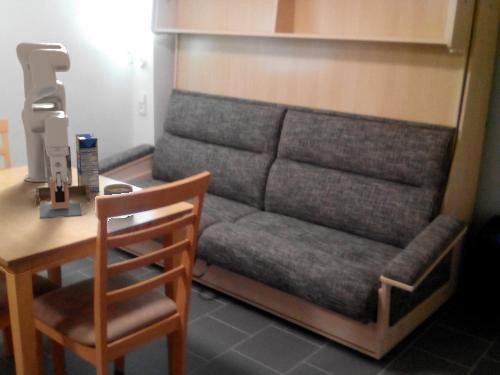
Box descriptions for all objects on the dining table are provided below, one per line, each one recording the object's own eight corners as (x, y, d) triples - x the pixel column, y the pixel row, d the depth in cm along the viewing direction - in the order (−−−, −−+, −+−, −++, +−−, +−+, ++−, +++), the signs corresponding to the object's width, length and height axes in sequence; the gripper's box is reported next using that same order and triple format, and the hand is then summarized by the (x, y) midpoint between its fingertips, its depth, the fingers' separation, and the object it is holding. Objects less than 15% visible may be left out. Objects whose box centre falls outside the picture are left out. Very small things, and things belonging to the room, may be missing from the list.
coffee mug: (101, 211, 195) (100, 185, 192) (128, 208, 200) (127, 182, 197) (112, 223, 184) (111, 195, 181) (140, 219, 189) (139, 192, 186)
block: (69, 203, 197) (67, 176, 194) (69, 207, 193) (68, 180, 190) (51, 204, 195) (50, 177, 192) (51, 208, 191) (49, 181, 188)
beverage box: (82, 193, 215) (79, 139, 209) (78, 186, 225) (75, 134, 219) (99, 192, 218) (97, 138, 212) (94, 184, 228) (92, 133, 222)
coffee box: (59, 181, 230) (56, 145, 226) (72, 183, 229) (70, 146, 224) (47, 187, 221) (44, 149, 217) (61, 188, 220) (59, 150, 216)
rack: (36, 197, 208) (36, 187, 206) (88, 194, 214) (88, 185, 213) (35, 205, 199) (35, 195, 198) (90, 202, 205) (89, 192, 204)
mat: (40, 205, 198) (40, 204, 198) (80, 203, 203) (80, 202, 203) (39, 218, 186) (39, 216, 186) (82, 215, 190) (81, 214, 190)
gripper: (69, 155, 182) (71, 206, 187) (68, 145, 197) (70, 192, 202) (45, 156, 179) (48, 207, 184) (46, 145, 195) (49, 193, 200)
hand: (60, 199), depth 193 cm, fingers closed on block, 4 cm apart
